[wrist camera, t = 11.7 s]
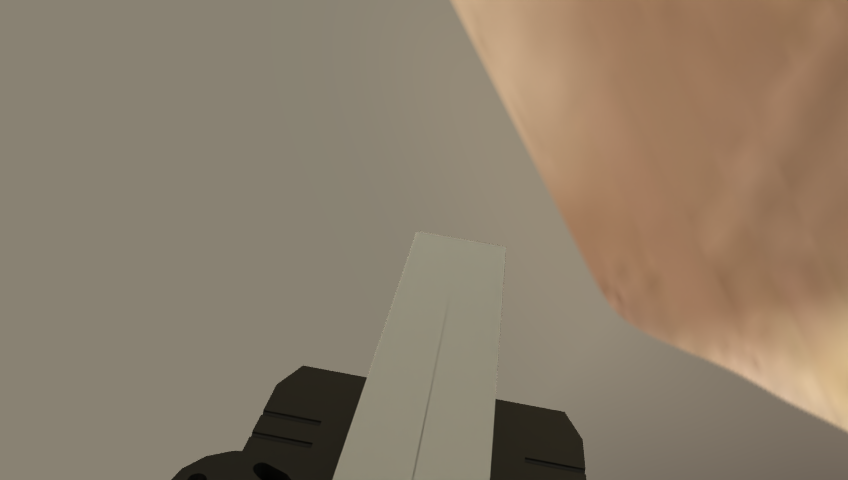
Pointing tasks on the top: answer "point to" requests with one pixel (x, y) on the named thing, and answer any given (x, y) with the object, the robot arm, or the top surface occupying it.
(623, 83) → the top surface
